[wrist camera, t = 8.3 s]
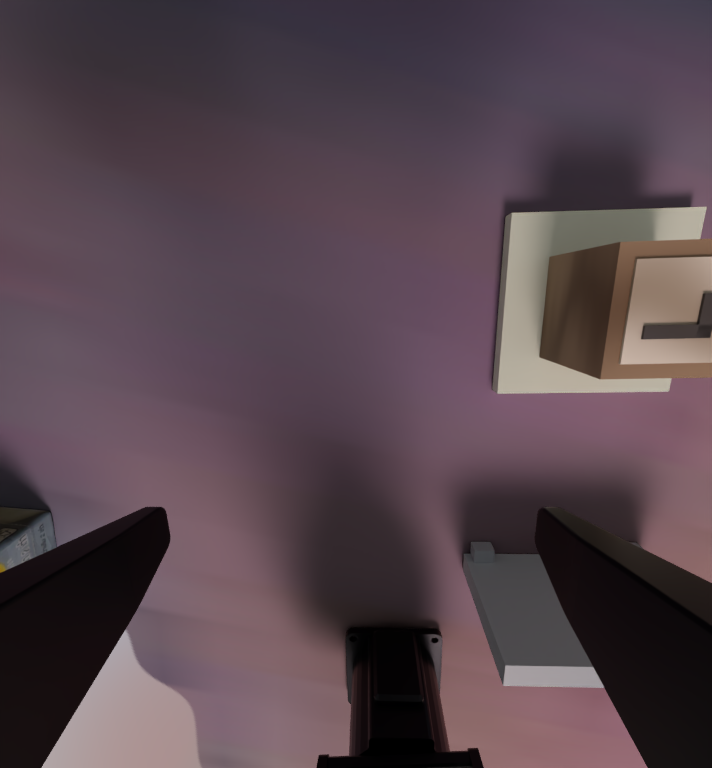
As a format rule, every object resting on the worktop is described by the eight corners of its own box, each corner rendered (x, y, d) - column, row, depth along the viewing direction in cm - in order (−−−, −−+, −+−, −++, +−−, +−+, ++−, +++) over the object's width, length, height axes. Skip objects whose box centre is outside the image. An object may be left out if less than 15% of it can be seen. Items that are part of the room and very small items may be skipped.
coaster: (656, 387, 19) (668, 391, 19) (492, 389, 20) (497, 393, 19) (691, 210, 17) (706, 207, 16) (505, 216, 18) (511, 212, 17)
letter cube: (637, 355, 18) (739, 378, 13) (539, 357, 18) (603, 380, 13) (654, 253, 17) (775, 235, 12) (549, 256, 17) (624, 240, 12)
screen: (634, 582, 23) (748, 705, 16) (462, 581, 23) (501, 700, 16) (642, 542, 22) (766, 653, 15) (464, 541, 22) (507, 649, 15)
